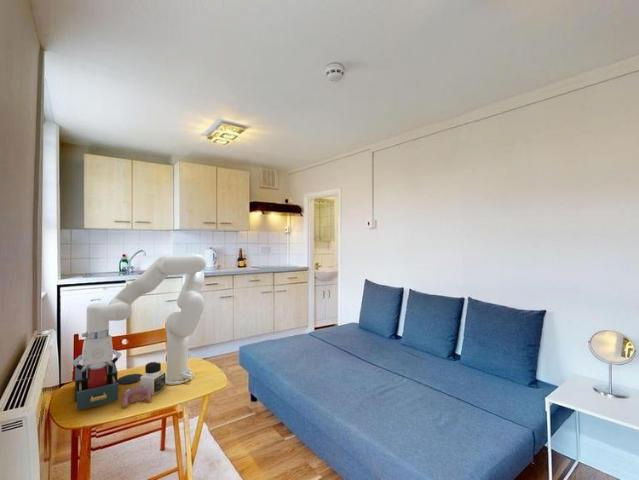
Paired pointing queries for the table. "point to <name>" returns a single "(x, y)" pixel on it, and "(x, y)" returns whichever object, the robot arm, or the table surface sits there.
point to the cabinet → (79, 377)
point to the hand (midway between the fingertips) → (97, 377)
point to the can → (97, 375)
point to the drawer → (96, 394)
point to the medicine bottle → (153, 377)
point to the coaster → (129, 379)
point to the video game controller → (133, 391)
